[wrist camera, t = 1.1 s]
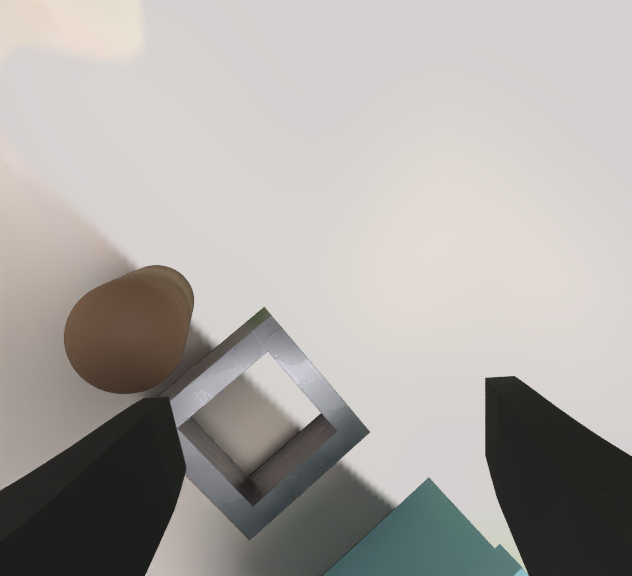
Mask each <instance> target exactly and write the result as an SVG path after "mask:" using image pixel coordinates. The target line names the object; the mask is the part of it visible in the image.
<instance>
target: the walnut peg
mask: <svg viewBox="0 0 632 576" xmlns="http://www.w3.org/2000/svg"><path fill="white" fill-rule="evenodd" d="M193 307H194V295H193V291H192V288H191V286H190V284H189V282H188V281H187V280H186V279H185V277H184V276H183V275H181V274H180V273H179V272H178V271H176V270H174V269H172V268H169V267H166V266H160V265H153V266H147V267H144V268H141V269H139V270H136V271H134V272H132V273H129V274H127V275H125V276H122V277H120V278H118V279H115V280H113V281H110V282H108V283H106V284H103V285H101V286H99V287H97V288H95V289H93V290H91V291H90V292H88V293H87V294H86V295H84V296H83V297H82V298H81V299H80V300H79V301H78V302H77V304H76V305H75V306H74V308H73V309H72V311H71V312H70V315H69V317H68V319H67V322H66V326H65V332H64V344H65V350H66V353H67V356H68V359H69V361H70V363H71V365H72V366H73V368H74V369H75V371H76V372H77V373H78V374H79V375H80V376H81V377H82V378H83V379H84V380H85V381H87V382H88V383H89V384H91V385H93V386H95V387H97V388H98V389H101V390H104V391H107V392H111V393H118V394H131V393H138V392H142V391H145V390H148V389H150V388H153V387H154V386H156V385H158V384H160V383H161V382H162V381H164V380H165V379H166V378H167V377H168V376H169V375H170V374H171V373H172V372H173V371H174V369H175V368H176V367H177V365H178V363H179V362H180V359H181V357H182V355H183V351H184V347H185V343H186V339H187V334H188V330H189V325H190V321H191V316H192V312H193Z"/></svg>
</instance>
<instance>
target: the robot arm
mask: <svg viewBox="0 0 632 576" xmlns="http://www.w3.org/2000/svg"><path fill="white" fill-rule="evenodd" d="M485 380H486V381H485V384H486V385H485V392H486V393H485V394H486V395H485V396H486V397H485V398H486V399H485V405H486V406H485V411H486V412H485V413H486V414H485V428H486V429H485V436H486V437H485V453H486V454H485V456H486V459H487V463H488V467H489V470H490V475H491V478H492V481H493V485H494V489H495V492H496V496H497V499H498V502H499V504H500V507H501V509H502V512H503V514H504V516H505V519H506V521H507V524H508V526H509V528H510V531H511V533H512V536H513V538H514V541H515V543H516V546H517V548H518V550H519V553H520V555H521V558H522V560H523V563H524V565H525V567H526V569H527V572H528V575H529V576H632V456H630V455H629V454H627V453H625V452H624V451H622V450H620V449H619V448H617V447H616V446H614V445H612V444H611V443H609V442H608V441H606V440H604V439H603V438H601V437H600V436H598V435H596V434H595V433H594V432H592V431H591V430H589V429H588V428H586V427H585V426H583V425H582V424H580V423H579V422H577V421H576V420H574V419H573V418H571V417H570V416H569V415H567V414H566V413H565V412H563V411H562V410H560V409H559V408H558V407H556V406H555V405H553V404H552V403H551V402H549V401H548V400H546V399H545V398H544V397H542V396H541V395H540V394H538V393H537V392H536V391H535V390H533V389H532V388H530V387H529V386H528V385H526V384H525V383H523V382H522V381H521V380H519V379H518V378H516V377H515V376H510V377H492V378H485ZM186 469H187V467H186V463H185V459H184V455H183V451H182V447H181V443H180V439H179V435H178V431H177V427H176V423H175V419H174V415H173V412H172V408H171V404H170V400H169V397H157V398H144V399H142V400H140V401H138V402H136V403H135V404H133V405H131V406H130V407H128V408H127V409H125V410H124V411H122V412H121V413H119V414H118V415H116V416H115V417H113V418H112V419H110V420H109V421H107V422H106V423H104V424H103V425H102V426H100V427H99V428H97V429H96V430H94V431H93V432H91V433H90V434H88V435H87V436H85V437H84V438H83V439H81V440H80V441H78V442H77V443H75V444H74V445H72V446H71V447H69V448H68V449H66V450H65V451H63V452H62V453H60V454H59V455H57V456H55V457H54V458H52V459H51V460H49V461H48V462H46V463H44V464H43V465H41V466H40V467H38V468H37V469H35V470H34V471H32V472H30V473H29V474H27V475H26V476H24V477H22V478H21V479H19V480H17V481H16V482H14V483H12V484H11V485H9V486H7V487H6V488H4V489H2V490H0V576H145V574H146V572H147V570H148V568H149V566H150V563H151V561H152V559H153V557H154V555H155V552H156V550H157V548H158V546H159V544H160V541H161V539H162V537H163V535H164V532H165V530H166V528H167V526H168V523H169V521H170V519H171V516H172V514H173V512H174V509H175V506H176V503H177V500H178V497H179V494H180V491H181V487H182V483H183V480H184V476H185V473H186Z"/></svg>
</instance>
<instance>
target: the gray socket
mask: <svg viewBox="0 0 632 576" xmlns="http://www.w3.org/2000/svg"><path fill="white" fill-rule="evenodd" d="M267 351H268V352H269V353H270V354H271V355H272V356H273V358H274V359H275V360H276V361H277V362H278V363H279V365H280V366H281V367H282V368H283V369H284V370H285V371H286V373H287V374H288V375H289V376H290V377H291V378H292V380H293V381H294V382H295V383H296V384H297V385H298V386H299V388H300V389H301V390H302V391H303V392H304V393H305V395H306V396H307V397H308V398H309V399H310V400H311V402H312V403H313V404H314V405H315V406H316V407H317V408H318V409H319V411H320V412H321V414H320V415H319V416H317V417H316V418H315V419H314V420H313V421H312V422H311V423H310V424H308V425H307V426H306V427H305V428H304V429H303V430H302V431H300V432H299V433H298V434H297V435H296V436H295V437H294V438H292V439H291V440H290V441H289V442H288V443H287V444H286V445H284V446H283V447H282V448H281V449H280V450H279V451H278V452H277V453H275V454H274V455H273V456H272V457H271V458H270V459H269V460H267V461H266V462H265V463H264V464H263V465H262V466H261V467H260V468H258V469H257V470H256V471H255V472H254V473H253V474H252V475H250V476H249V477H247V476H246V475H245V474H244V473H243V472H242V471H241V470H240V469H239V468H238V467H237V465H236V464H235V463H234V462H233V461H232V460H231V459H230V458H229V457H228V456H227V455H226V454H225V453H224V452H223V451H222V450H221V449H220V447H219V446H218V445H217V444H216V443H215V442H214V441H213V440H212V439H211V438H210V437H209V436H208V435H207V434H206V433H205V432H204V431H203V430H202V428H201V427H200V426H199V425H198V424H197V423H196V422H195V421H194V420H193V419H192V418H191V416H192V415H193V414H195V413H196V412H197V411H198V410H199V409H200V408H202V407H203V406H204V405H205V404H206V403H207V402H209V401H210V400H211V399H212V398H213V397H215V396H216V395H217V394H218V393H219V392H220V391H222V390H223V389H224V388H225V387H226V386H227V385H229V384H230V383H231V382H232V381H233V380H234V379H236V378H237V377H238V376H239V375H240V374H242V373H243V372H244V371H245V370H246V369H247V368H249V367H250V366H251V365H252V364H253V363H254V362H256V361H257V360H258V359H259V358H260V357H261V356H262V355H264V354H265V353H266V352H267ZM158 397H169V400H170V404H171V408H172V412H173V415H174V419H175V423H176V427H177V431H178V435H179V439H180V443H181V447H182V451H183V455H184V459H185V463H186V467H187V469H186V473H185V475H186V476H187V477H188V478H189V479H190V480H191V481H192V482H193V483H194V484H195V485H196V486H197V487H198V488H199V490H200V491H201V492H202V493H203V494H204V495H205V496H206V497H207V498H208V499H209V500H210V501H211V502H212V503H213V504H214V505H215V506H216V507H217V508H218V509H219V510H220V511H221V512H222V513H223V514H224V515H225V516H226V517H227V518H228V519H229V520H230V521H231V522H232V523H233V524H234V525H235V526H236V527H237V528H238V529H239V530H240V531H241V532H242V533H243V534H244V535H245V536H246V537H247V538H248V539H249V540H251V539H252V538H253V537H254V536H255V535H256V534H257V533H258V532H260V531H261V530H262V529H263V528H264V527H265V526H266V525H267V524H268V523H270V522H271V521H272V520H273V519H274V518H275V517H276V516H277V515H278V514H280V513H281V512H282V511H283V510H284V509H285V508H286V507H287V506H288V505H290V504H291V503H292V502H293V501H294V500H295V499H296V498H297V497H298V496H300V495H301V494H302V493H303V492H304V491H305V490H306V489H307V488H309V487H310V486H311V485H312V484H313V483H314V482H315V481H316V480H317V479H319V478H320V477H321V476H322V475H323V474H324V473H325V472H326V471H327V470H329V469H330V468H331V467H332V466H333V465H334V464H335V463H336V462H337V461H339V460H340V459H341V458H342V457H343V456H344V455H345V454H346V453H347V452H349V450H351V449H352V448H353V447H354V446H355V445H356V444H357V443H359V442H360V441H361V440H362V439H363V438H364V437H365V436H366V435H367V434H369V433H370V431H369V430H368V429H367V428H366V427H365V426H364V424H363V423H362V422H361V421H360V420H359V418H358V417H357V416H356V415H355V414H354V412H353V411H352V410H351V409H350V408H349V406H348V405H347V404H346V403H345V402H344V401H343V399H342V398H341V397H340V396H339V395H338V393H337V392H336V391H335V390H334V389H333V388H332V386H331V385H330V384H329V383H328V382H327V380H326V379H325V378H324V377H323V376H322V375H321V373H320V372H319V371H318V370H317V369H316V367H315V366H314V365H313V364H312V363H311V362H310V361H309V359H308V358H307V357H306V356H305V355H304V353H303V352H302V351H301V350H300V349H299V348H298V346H297V345H296V344H295V343H294V342H293V340H292V339H291V338H290V337H289V336H288V334H287V333H286V332H285V331H284V330H283V328H282V327H281V326H280V325H279V324H278V323H277V321H276V320H275V319H274V318H273V317H272V315H271V314H270V313H269V312H268V311H267V310H266V308H265V307H264V308H263V309H261V310H260V311H259V312H258V313H256V315H254V316H253V317H252V318H250V319H249V320H248V321H247V322H246V323H245V324H243V325H242V326H241V327H240V328H239V329H237V330H236V331H235V332H234V333H233V334H231V335H230V336H229V337H228V338H227V339H226V340H224V341H223V342H222V343H221V344H219V345H218V346H217V347H216V348H215V349H214V350H212V351H211V352H210V353H209V354H208V355H206V356H205V357H204V358H203V359H202V360H200V361H199V362H198V363H197V364H196V365H194V366H193V367H192V368H191V369H190V370H188V371H187V372H186V373H185V374H184V375H183V376H181V377H180V378H179V379H178V380H177V381H175V382H174V383H173V384H172V385H171V386H169V387H168V388H167V389H166V390H165V391H163V392H162V393H161V394H160V395H159V396H158ZM156 398H157V397H156Z"/></svg>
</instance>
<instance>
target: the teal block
mask: <svg viewBox="0 0 632 576" xmlns="http://www.w3.org/2000/svg"><path fill="white" fill-rule="evenodd" d="M323 576H529V575H528V574H527V573H526V572H525V570H524V569H523V568H522V567H521V566H520V565H519V564H518V563H517V562H516V560H515V559H514V558H513V557H511V555H510V554H509V553H508V552H507V551H506V550H505V549H504V548H503V547H502V546H501V545H500V544H499V545H498V546H497V547H496V548H494V547H493V546H492V545H491V544H490V543H489V542H488V541H487V540H486V539H485V538H484V537H483V536H482V535H481V533H480V532H479V531H478V530H477V529H476V528H475V527H474V526H473V525H472V524H471V523H470V521H469V520H468V519H467V518H466V517H465V516H464V515H463V514H462V513H461V512H460V511H459V510H458V508H457V507H456V506H455V505H454V504H453V503H452V502H451V501H450V500H449V499H448V498H447V497H446V496H445V494H444V493H443V492H442V491H441V490H440V489H439V488H438V487H437V486H436V485H435V484H434V483H433V481H431V479H430V478H428V479H427V480H426V481H425V482H424V483H422V484H421V485H420V486H419V487H418V488H417V489H416V490H415V491H414V492H413V493H412V494H410V495H409V497H407V498H406V499H405V500H404V501H403V502H402V503H401V504H400V505H399V506H398V507H396V508H395V509H394V510H393V511H392V512H391V513H390V514H389V515H388V516H387V517H386V518H385V519H383V520H382V521H381V522H380V523H379V524H378V525H377V526H376V527H375V528H374V529H373V530H372V531H370V532H369V533H368V534H367V535H366V536H365V537H364V538H363V539H362V540H361V541H360V542H359V543H358V544H356V545H355V546H354V547H353V548H352V549H351V550H350V551H349V552H348V553H347V554H346V555H345V556H343V557H342V558H341V559H340V560H339V561H338V562H337V563H336V564H335V565H334V566H333V567H332V568H331V569H329V570H328V571H327V572H326V573H325V574H324V575H323Z"/></svg>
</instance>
